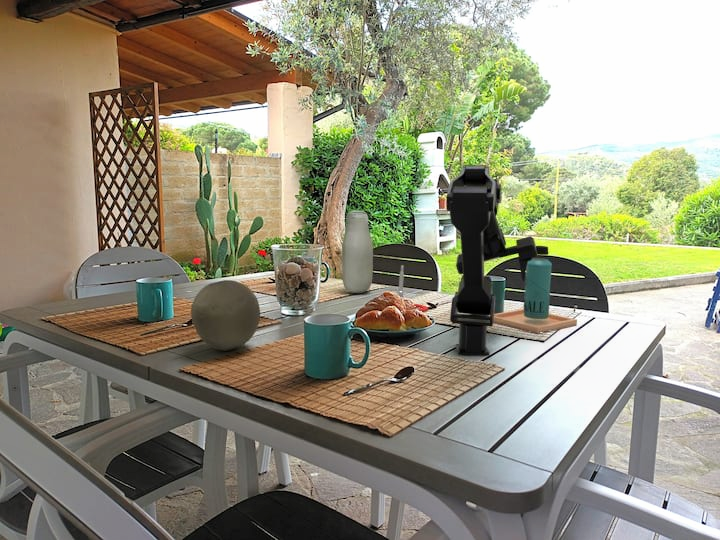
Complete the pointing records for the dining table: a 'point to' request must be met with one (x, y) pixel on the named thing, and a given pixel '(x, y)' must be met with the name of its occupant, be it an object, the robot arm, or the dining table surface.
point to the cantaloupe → (225, 314)
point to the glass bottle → (357, 253)
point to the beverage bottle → (537, 286)
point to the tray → (533, 321)
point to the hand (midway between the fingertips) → (505, 284)
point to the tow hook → (400, 292)
